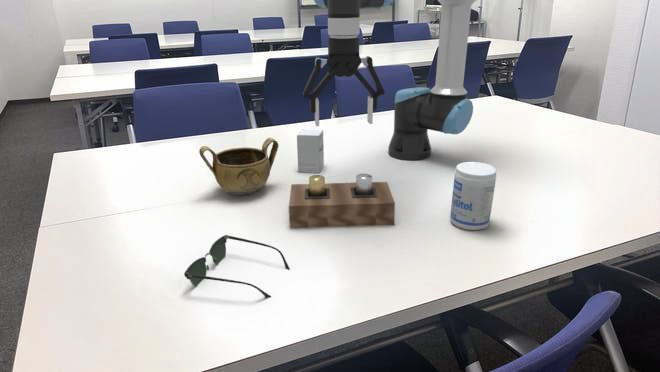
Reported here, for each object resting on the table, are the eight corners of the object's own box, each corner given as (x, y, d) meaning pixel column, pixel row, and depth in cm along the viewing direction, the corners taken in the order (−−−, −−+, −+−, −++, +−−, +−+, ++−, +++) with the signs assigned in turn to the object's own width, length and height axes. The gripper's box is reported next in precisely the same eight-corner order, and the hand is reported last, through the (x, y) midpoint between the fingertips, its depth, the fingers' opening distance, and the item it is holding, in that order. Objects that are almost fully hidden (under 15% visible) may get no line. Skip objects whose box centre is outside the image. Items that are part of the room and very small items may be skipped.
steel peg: (370, 192, 125) (370, 173, 122) (372, 199, 121) (372, 179, 119) (355, 193, 124) (355, 173, 122) (356, 199, 121) (356, 179, 119)
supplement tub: (443, 224, 118) (447, 168, 113) (460, 211, 125) (465, 158, 119) (480, 235, 112) (486, 178, 107) (496, 221, 119) (503, 166, 113)
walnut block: (386, 201, 131) (387, 180, 129) (394, 224, 118) (395, 201, 116) (292, 204, 131) (291, 183, 128) (289, 227, 118) (288, 204, 115)
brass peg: (325, 194, 124) (324, 174, 122) (325, 200, 121) (324, 180, 119) (309, 194, 124) (309, 175, 122) (309, 200, 121) (308, 180, 118)
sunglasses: (264, 308, 89) (262, 285, 87) (185, 294, 93) (181, 272, 91) (295, 263, 103) (294, 243, 101) (225, 253, 108) (223, 233, 106)
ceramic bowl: (212, 208, 129) (205, 156, 123) (199, 187, 143) (193, 139, 138) (288, 193, 138) (286, 144, 132) (270, 175, 152) (266, 129, 146)
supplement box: (319, 173, 153) (318, 135, 148) (297, 172, 154) (295, 134, 149) (324, 165, 159) (323, 129, 154) (303, 164, 161) (301, 128, 156)
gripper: (390, 34, 118) (387, 118, 126) (290, 36, 115) (293, 122, 123) (398, 36, 111) (395, 125, 119) (292, 39, 108) (295, 129, 116)
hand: (343, 123), depth 121 cm, fingers open, 13 cm apart
